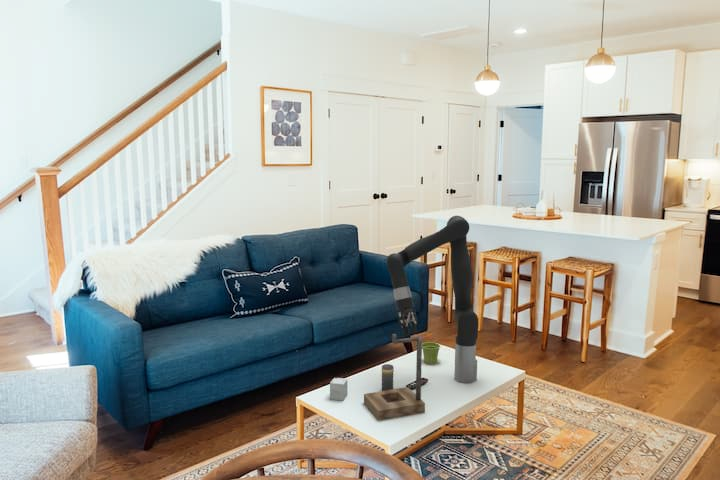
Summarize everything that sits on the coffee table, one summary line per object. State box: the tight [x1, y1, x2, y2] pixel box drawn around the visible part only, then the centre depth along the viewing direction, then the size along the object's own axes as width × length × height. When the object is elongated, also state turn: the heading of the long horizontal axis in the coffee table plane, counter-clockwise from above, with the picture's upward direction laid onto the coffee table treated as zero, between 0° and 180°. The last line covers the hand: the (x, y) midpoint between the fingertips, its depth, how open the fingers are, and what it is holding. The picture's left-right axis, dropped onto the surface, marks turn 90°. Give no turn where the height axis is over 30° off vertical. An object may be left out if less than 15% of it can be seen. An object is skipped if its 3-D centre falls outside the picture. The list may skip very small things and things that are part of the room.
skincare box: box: [329, 377, 348, 401], centre depth 232 cm, size 6×6×7 cm
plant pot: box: [422, 341, 441, 365], centre depth 272 cm, size 9×9×9 cm
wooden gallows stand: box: [363, 333, 426, 422], centre depth 221 cm, size 20×16×32 cm
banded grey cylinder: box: [381, 363, 395, 391], centre depth 239 cm, size 5×5×11 cm
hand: (411, 334), depth 239 cm, fingers open, 8 cm apart
